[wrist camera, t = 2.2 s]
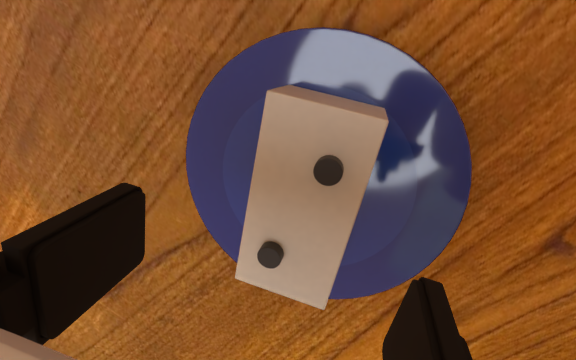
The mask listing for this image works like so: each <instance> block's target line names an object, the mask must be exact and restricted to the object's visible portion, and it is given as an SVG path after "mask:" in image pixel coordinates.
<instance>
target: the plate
mask: <svg viewBox="0 0 576 360" xmlns="http://www.w3.org/2000/svg"><path fill="white" fill-rule="evenodd" d="M286 85H293V86H297V87H301V88H305V89H309V90H313V91H317V92H321V93H325V94H329V95H333V96H337V97H341V98H346V99H350V100H354V101H358V102H362V103H366V104H370V105H374V106H378V107H382V108H385V111H386V114H387V117H388V121H389V123H388V126H387V129H386V132H385V135H384V138H383V140H382V143H381V146H380V149H379V152H378V155H377V158H376V161H375V164H374V167H373V170H372V173H371V176H370V178H369V181H368V184H367V187H366V190H365V193H364V196H363V199H362V202H361V205H360V208H359V211H358V214H357V216H356V219H355V222H354V225H353V228H352V231H351V234H350V237H349V240H348V243H347V246H346V249H345V252H344V255H343V257H342V260H341V263H340V266H339V269H338V272H337V275H336V278H335V281H334V284H333V287H332V290H331V293H330V295H329V298H328V299H351V298H358V297H364V296H369V295H373V294H376V293H380V292H383V291H386V290H388V289H391V288H393V287H395V286H398V285H400V284H402V283H404V282H405V281H407V280H409V279H410V278H412V277H414V276H416V275H417V274H418V273H419V272H421V271H422V270H423V269H425V268H426V267H427V266H428V265H430V264H431V263H432V262H433V261H434V260H435V258H436V257H437V256H438V255H439V254H440V253H441V252H442V251H443V250H444V248H445V247H446V246H447V244H448V243H449V242H450V240H451V239H452V237H453V235H454V234H455V232H456V230H457V228H458V226H459V224H460V222H461V220H462V217H463V215H464V212H465V209H466V206H467V203H468V198H469V193H470V188H471V174H472V162H471V154H470V145H469V141H468V138H467V134H466V131H465V127H464V124H463V121H462V119H461V117H460V115H459V113H458V111H457V109H456V106H455V104H454V103H453V101H452V100H451V98H450V97H449V95H448V94H447V92H446V91H445V89H444V88H443V86H442V85H441V84H440V83H439V82H438V81H437V79H436V78H435V77H434V76H433V75H432V74H431V73H430V72H429V71H428V70H427V69H426V68H425V67H424V66H423V65H421V64H420V63H419V62H418V61H416V60H415V59H414V58H413V57H411V56H410V55H409V54H407V53H406V52H404V51H402V50H400V49H399V48H397V47H395V46H393V45H392V44H390V43H388V42H386V41H383V40H380V39H378V38H375V37H373V36H370V35H368V34H364V33H360V32H355V31H351V30H347V29H337V28H325V27H321V28H305V29H298V30H293V31H289V32H284V33H280V34H277V35H275V36H272V37H269V38H266V39H264V40H261V41H260V42H258V43H256V44H254V45H252V46H250V47H249V48H247V49H245V50H243V51H242V52H241V53H240V54H238V55H237V56H236V57H234V58H233V59H232V60H230V61H229V62H228V63H227V64H226V65H225V66H224V67H223V68H222V69H221V70H220V71H219V72H218V73H217V74H216V75H215V77H214V78H213V80H212V81H211V82H210V84H209V85H208V86H207V88H206V89H205V91H204V93H203V95H202V96H201V98H200V100H199V102H198V104H197V106H196V109H195V112H194V114H193V117H192V120H191V124H190V128H189V132H188V137H187V147H186V169H187V175H188V182H189V186H190V190H191V194H192V197H193V200H194V203H195V205H196V208H197V210H198V213H199V215H200V217H201V219H202V220H203V222H204V224H205V226H206V228H207V229H208V231H209V232H210V234H211V235H212V236H213V238H214V239H215V241H216V242H217V243H218V244H219V245H220V246H221V248H222V249H223V250H224V251H225V252H226V253H227V254H228V255H229V256H230V257H231V258H232V259H233V260H234V261H235V262H236V263H237V262H238V256H239V251H240V245H241V239H242V233H243V227H244V221H245V215H246V210H247V204H248V198H249V192H250V186H251V180H252V174H253V169H254V163H255V157H256V151H257V145H258V139H259V134H260V128H261V122H262V116H263V110H264V104H265V98H266V93H267V90H271V89H275V88H279V87H283V86H286Z"/></svg>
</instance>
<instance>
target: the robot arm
mask: <svg viewBox="0 0 576 360" xmlns="http://www.w3.org/2000/svg"><path fill="white" fill-rule="evenodd" d="M1 245H2V250H3V251H1V252H0V360H76V359H74V358H72V357H69V356H67V355H64V354H62V353H60V352H57V351H55V350H52V349H50V348H47V347H45V346H43V344H44V343H46V342H47V341H48V340H49V339H54V338H56V337H57V336H58V335H60V334H61V333H62V332H63V331H64V330H65V329H67V328H68V327H69V326H70V325H71V324H72V323H73V322H74V321H76V320H77V319H78V318H79V317H80V316H81V315H82V314H84V313H85V312H86V311H87V310H88V309H89V308H90V307H91V306H93V305H94V304H95V303H96V302H97V301H98V300H99V299H100V298H102V297H103V296H104V295H105V294H106V293H107V292H108V291H110V290H111V289H112V288H113V287H114V286H115V285H116V284H117V283H119V282H120V281H121V280H122V279H123V278H124V277H125V276H127V275H128V274H129V273H130V272H131V271H132V270H133V269H134V268H136V267H137V266H138V265H139V264H140V263H141V261H142V260H143V258H144V254H145V194H144V193H143V192H142V189H141V188H140V187H137V186H134V185H131V184H128V183H121V184H119V185H117V186H115V187H113V188H111V189H109V190H107V191H105V192H103V193H101V194H99V195H97V196H95V197H93V198H91V199H89V200H87V201H85V202H83V203H81V204H78V205H76V206H74V207H72V208H70V209H68V210H66V211H64V212H62V213H60V214H58V215H56V216H54V217H52V218H50V219H48V220H46V221H44V222H42V223H40V224H38V225H36V226H34V227H32V228H30V229H28V230H26V231H24V232H22V233H20V234H17V235H15V236H13V237H11V238H9V239H7V240H5V241H3V242H1ZM382 353H383V360H472V357H471V354H470V351H469V348H468V346H467V343H466V341H465V339H464V338H463V337H461V336H460V335H459V332H458V329H457V326H456V323H455V320H454V317H453V314H452V311H451V308H450V305H449V302H448V299H447V296H446V293H445V290H444V287H443V285H442V283H440V282H437V281H433V280H430V279H427V278H424V277H421V278H420V279H419V280H413V281H412V282H411V284H410V286H409V288H408V290H407V293H406V295H405V297H404V299H403V301H402V303H401V305H400V307H399V309H398V311H397V314H396V316H395V318H394V320H393V322H392V324H391V326H390V328H389V330H388V333H387V335H386V337H385V339H384V342H383V349H382Z"/></svg>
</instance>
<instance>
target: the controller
mask: <svg viewBox="0 0 576 360" xmlns="http://www.w3.org/2000/svg"><path fill="white" fill-rule="evenodd" d="M388 123H389V121H388V117H387V114H386V111H385V108H382V107H378V106H374V105H370V104H366V103H362V102H358V101H354V100H350V99H346V98H341V97H337V96H333V95H329V94H325V93H321V92H317V91H313V90H309V89H305V88H301V87H297V86H293V85H286V86H283V87H279V88H275V89H271V90H267V93H266V98H265V104H264V110H263V116H262V122H261V128H260V134H259V139H258V145H257V151H256V157H255V163H254V169H253V174H252V180H251V186H250V192H249V198H248V204H247V210H246V215H245V221H244V227H243V233H242V239H241V245H240V251H239V256H238V262H237V268H236V274H235V278H236V279H238V280H241V281H244V282H246V283H249V284H252V285H255V286H258V287H260V288H263V289H266V290H269V291H272V292H274V293H277V294H280V295H283V296H286V297H288V298H291V299H294V300H297V301H300V302H302V303H305V304H308V305H311V306H313V307H316V308H319V309H322V310H324V309H325V307H326V304H327V301H328V298H329V295H330V293H331V290H332V287H333V284H334V281H335V278H336V275H337V272H338V269H339V266H340V263H341V260H342V257H343V255H344V252H345V249H346V246H347V243H348V240H349V237H350V234H351V231H352V228H353V225H354V222H355V219H356V216H357V214H358V211H359V208H360V205H361V202H362V199H363V196H364V193H365V190H366V187H367V184H368V181H369V178H370V176H371V173H372V170H373V167H374V164H375V161H376V158H377V155H378V152H379V149H380V146H381V143H382V140H383V138H384V135H385V132H386V129H387V126H388Z"/></svg>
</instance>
